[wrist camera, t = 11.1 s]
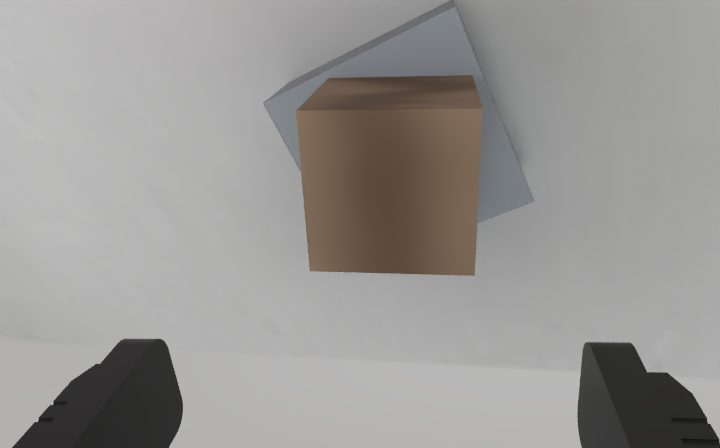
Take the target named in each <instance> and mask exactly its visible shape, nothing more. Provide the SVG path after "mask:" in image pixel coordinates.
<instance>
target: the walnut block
mask: <svg viewBox="0 0 720 448" xmlns="http://www.w3.org/2000/svg"><path fill="white" fill-rule="evenodd" d="M296 117H297V128H298V140H299V151H300V162H301V174H302V185H303V196H304V208H305V219H306V231H307V242H308V253H309V265H310V271H327V272H364V273H400V274H437V275H474V274H475V253H476V232H477V212H478V191H479V170H480V149H481V129H482V105H481V102H480V99H479V95H478V92H477V89H476V85H475V82H474V79H473V75H456V76H404V77H353V78H328V79H327V80H326V81H325V82H324V83H323V84H322V85H321V86H320V87H319V88H318V89H317V90H316V91H315V92H314V93H313V94H312V95H311V96H310V97H309V98H308V99H307V100H306V101H305V102H304V103H303V104H302V105H301V106H300V107H299V108H298V109H297V110H296Z"/></svg>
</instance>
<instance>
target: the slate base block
mask: <svg viewBox="0 0 720 448" xmlns="http://www.w3.org/2000/svg"><path fill="white" fill-rule="evenodd" d="M456 75H473V79H474V82H475V85H476V89H477V92H478V95H479V99H480V102H481V105H482V129H481V149H480V170H479V191H478V212H477V223H478V222H481V221H484V220H486V219H489V218H492V217H494V216H497V215H499V214H502V213H505V212H507V211H510V210H512V209H515V208H518V207H520V206H523V205H526V204H528V203H531V202H533V201H534V199H533V197H532V194H531V192H530V189H529V187H528V184H527V182H526V179H525V177H524V174H523V172H522V169H521V167H520V165H519V162H518V160H517V157H516V155H515V152H514V150H513V147H512V145H511V142H510V140H509V137H508V135H507V133H506V130H505V128H504V125H503V123H502V120H501V118H500V115H499V113H498V110H497V108H496V106H495V103H494V101H493V98H492V96H491V93H490V91H489V88H488V86H487V83H486V81H485V78H484V76H483V74H482V71H481V69H480V66H479V64H478V61H477V59H476V56H475V54H474V51H473V49H472V46H471V44H470V42H469V39H468V37H467V34H466V32H465V29H464V27H463V24H462V22H461V19H460V17H459V14H458V12H457V10H456V7H455V5H454V2H453V0H451V1H449V2H447V3H445V4H443V5H441V6H439V7H437V8H435V9H433V10H431V11H429V12H427V13H425V14H423V15H421V16H419V17H417V18H416V19H414V20H412V21H410V22H408V23H406V24H404V25H402V26H400V27H398V28H396V29H394V30H392V31H390V32H388V33H386V34H384V35H382V36H380V37H378V38H376V39H374V40H372V41H370V42H368V43H366V44H364V45H362V46H360V47H358V48H357V49H355V50H353V51H351V52H349V53H347V54H345V55H343V56H341V57H339V58H337V59H335V60H333V61H331V62H329V63H327V64H325V65H323V66H321V67H319V68H317V69H315V70H313V71H311V72H309V73H307V74H305V75H303V76H301V77H299V78H298V79H296V80H294V81H292V82H290V83H288V84H287V85H286V86H284V87H283V88H282V89H280V90H279V91H278V92H277V93H275V94H274V95H273V96H272V97H270V98H269V99H268V100H266V101H265V102H264V103H263V104H264V106H265V108H266V110H267V111H268V113H269V115H270V117H271V119H272V120H273V122H274V124H275V126H276V128H277V129H278V131H279V133H280V135H281V137H282V139H283V140H284V142H285V144H286V146H287V148H288V149H289V151H290V153H291V155H292V157H293V158H294V160H295V162H296V164H297V166H298V167H299V169H300V171H301V162H300V151H299V140H298V128H297V117H296V110H297V109H298V108H299V107H300V106H301V105H302V104H303V103H304V102H305V101H306V100H307V99H308V98H309V97H310V96H311V95H312V94H313V93H314V92H315V91H316V90H317V89H318V88H319V87H320V86H321V85H322V84H323V83H324V82H325V81H326V80H327V79H328V78H353V77H404V76H456Z"/></svg>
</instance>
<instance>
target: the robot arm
mask: <svg viewBox="0 0 720 448" xmlns="http://www.w3.org/2000/svg"><path fill="white" fill-rule="evenodd" d="M182 413H183V403H182V397H181V394H180V390H179V386H178V382H177V379H176V375H175V371H174V368H173V364H172V361H171V357H170V353H169V350H168V347H167V345H166V343H165V342H164V341H163V340H161V339H123V340H121V341H120V342H119V343H118V344H117V345H116V346H115V347H114V348H113V350H112V351H111V352H110V353H109V354H108V356H107V357H106V358H105V359H104V360H103V361H102V363H101V364H96V365H94V366H93V367H91V368H90V369H88V370H87V371H85V372H84V373H82V374H81V375H80V376H78V377H77V378H75V379H74V380H72V381H71V382H70V383H69V385H68V386H67V387H66V388H65V389H64V390H63V391H62V392H61V394H60V395H59V396H58V397H57V398H56V399H55V400H54V404H53V405H50V406H49V407H48V408H47V409H46V410H45V411H44V413H43V414H42V415H41V416H40V417H39V421H38V422H35V423H34V424H33V425H32V426H31V427H30V429H28V431H27V432H26V433H25V434H24V435H23V436H22V437H21V439H20V440H19V441H18V442H17V443H16V444H15V445H14V446H13V447H12V448H169V446H170V444H171V442H172V441H173V438H174V437H175V435H176V433H177V432H178V429H179V427H180V423H181V420H182ZM578 429H579V436H580V442H581V446H582V448H720V443H719V438H718V437H717V435H716V433H715V432H714V430H713V428H712V427H711V425H710V424H708V423H707V418H706V416H705V415H704V413H703V411H702V409H701V408H700V406H699V404H698V403H697V401H696V399H695V398H694V396H693V394H692V393H691V392H690V391H688V390H687V389H686V388H685V387H684V386H682V385H681V384H680V383H679V382H678V381H676V380H675V379H674V378H673V377H672V376H670V375H669V374H668V373H655V372H647V371H646V369H645V367H644V365H643V363H642V361H641V359H640V357H639V355H638V353H637V351H636V349H635V347H634V346H633V345H632V344H631V343H603V342H586V343H585V345H584V348H583V354H582V366H581V378H580V389H579V400H578Z"/></svg>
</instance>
